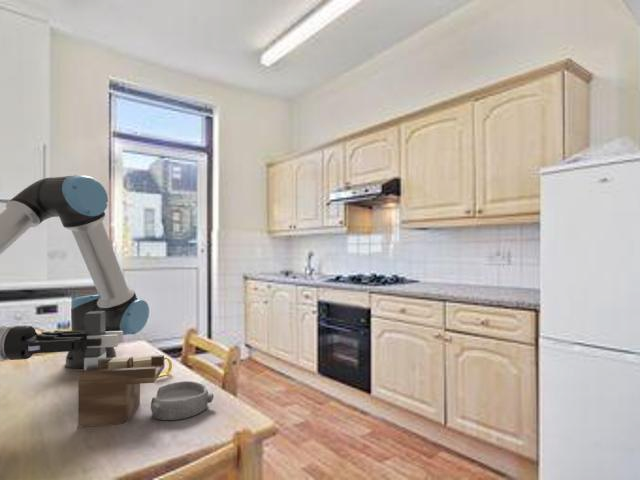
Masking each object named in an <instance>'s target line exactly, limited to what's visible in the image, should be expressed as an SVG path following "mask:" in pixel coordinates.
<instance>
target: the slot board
mask: <svg viewBox="0 0 640 480" xmlns="http://www.w3.org/2000/svg"><path fill="white" fill-rule="evenodd" d="M139 356H140V355H139ZM139 356H138V355H137V356H135V357H139ZM164 356H165V355H164V354H163V355H161V354H160V355H159V354H158V355H151V367H139V368H133V357H134V356H130V357H131V368H120V369H108V362H109V361H110V360H111V359H113V358H106V368H105V369H102V370H84V369H83V370H80V371H79V372H78V381H77V382H78V383H77V385H78V388H77V391H78V395H77V398H78V399H77V401H78V402H77V403H78V405H77V406H78V409H77V410H78V412H77V413H78V417H77V418H78V422H77V423H78V424H77V425H78V428H83V427H84V428H85V427H96V426H109V425H122V424H127V423H128V422H129V420H130V419H131V417H132V416H133V414H134V413H135V411H136V410H137V408H138V406H139V405H140V404H141V384H154V383H156V381H157V379H158V378H159V377H158V376H159V375H161V374H162V372H163V370H164V369H165V360H164Z"/></svg>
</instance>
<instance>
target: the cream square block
mask: <svg viewBox="0 0 640 480" xmlns="http://www.w3.org/2000/svg"><path fill="white" fill-rule="evenodd" d="M131 357H132V356H116V357H114V358H113V359H111V360H110V361H109V362H108V369H120V368H131Z"/></svg>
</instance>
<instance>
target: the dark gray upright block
mask: <svg viewBox="0 0 640 480" xmlns="http://www.w3.org/2000/svg"><path fill="white" fill-rule="evenodd" d="M94 335H105V311H90V312H88V313H86V314H85V337H86V339H87V336H94ZM105 368H106V347H101V348H87V346H86V351H85V358H84V368H83V370H102V369H105Z"/></svg>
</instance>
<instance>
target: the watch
mask: <svg viewBox="0 0 640 480" xmlns="http://www.w3.org/2000/svg"><path fill="white" fill-rule="evenodd" d="M165 360H167V362H168V369H167V370H166V371H165V373H160V375H159V376H158V378H161V377H164V375H166V376H168V375H169V373H171V372H172V368H173V363H172V360H171V359H169V358H168V357H167V355H164V361H165ZM167 374H168V375H167ZM160 376H161V377H160Z"/></svg>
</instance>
